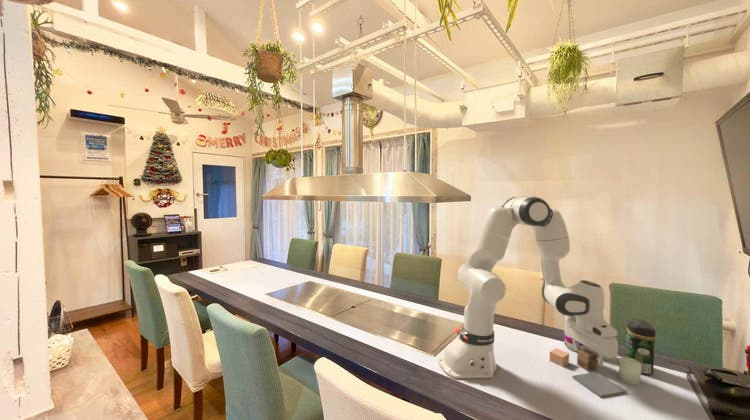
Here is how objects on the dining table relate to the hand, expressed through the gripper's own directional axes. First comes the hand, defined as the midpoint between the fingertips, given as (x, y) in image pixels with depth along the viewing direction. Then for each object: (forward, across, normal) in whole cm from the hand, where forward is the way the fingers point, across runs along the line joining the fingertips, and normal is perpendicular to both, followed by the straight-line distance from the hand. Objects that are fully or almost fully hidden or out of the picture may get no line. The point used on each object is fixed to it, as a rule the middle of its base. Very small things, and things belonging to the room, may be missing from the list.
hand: (588, 356), depth 119 cm
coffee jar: (+4, +5, +18) cm, 20 cm away
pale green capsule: (+4, +10, +7) cm, 13 cm away
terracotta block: (+4, -5, -8) cm, 11 cm away
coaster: (+4, +10, -7) cm, 13 cm away
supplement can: (+4, -13, +8) cm, 16 cm away
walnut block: (+4, 0, -1) cm, 4 cm away
